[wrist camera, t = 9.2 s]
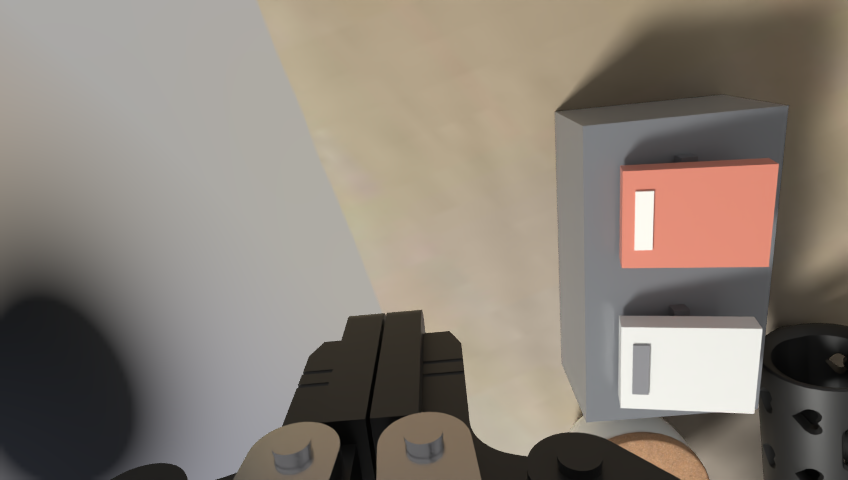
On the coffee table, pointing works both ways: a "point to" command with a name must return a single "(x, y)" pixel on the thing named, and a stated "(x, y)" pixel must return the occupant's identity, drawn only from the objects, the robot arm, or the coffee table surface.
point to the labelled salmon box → (697, 214)
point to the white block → (689, 363)
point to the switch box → (600, 231)
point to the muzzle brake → (804, 403)
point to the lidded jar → (649, 444)
